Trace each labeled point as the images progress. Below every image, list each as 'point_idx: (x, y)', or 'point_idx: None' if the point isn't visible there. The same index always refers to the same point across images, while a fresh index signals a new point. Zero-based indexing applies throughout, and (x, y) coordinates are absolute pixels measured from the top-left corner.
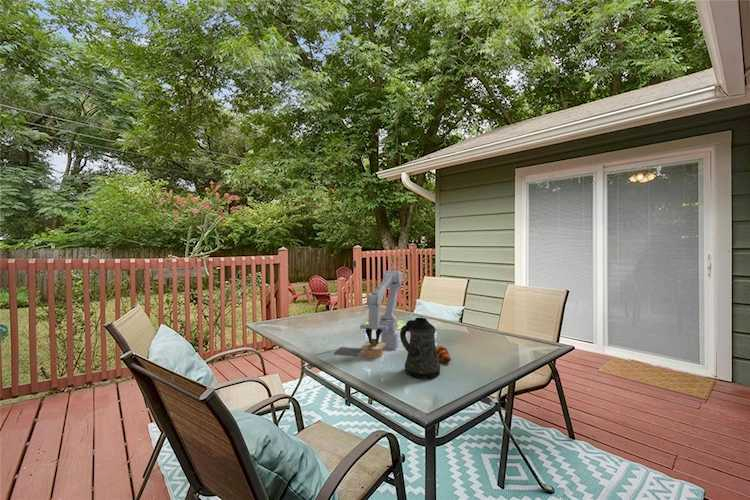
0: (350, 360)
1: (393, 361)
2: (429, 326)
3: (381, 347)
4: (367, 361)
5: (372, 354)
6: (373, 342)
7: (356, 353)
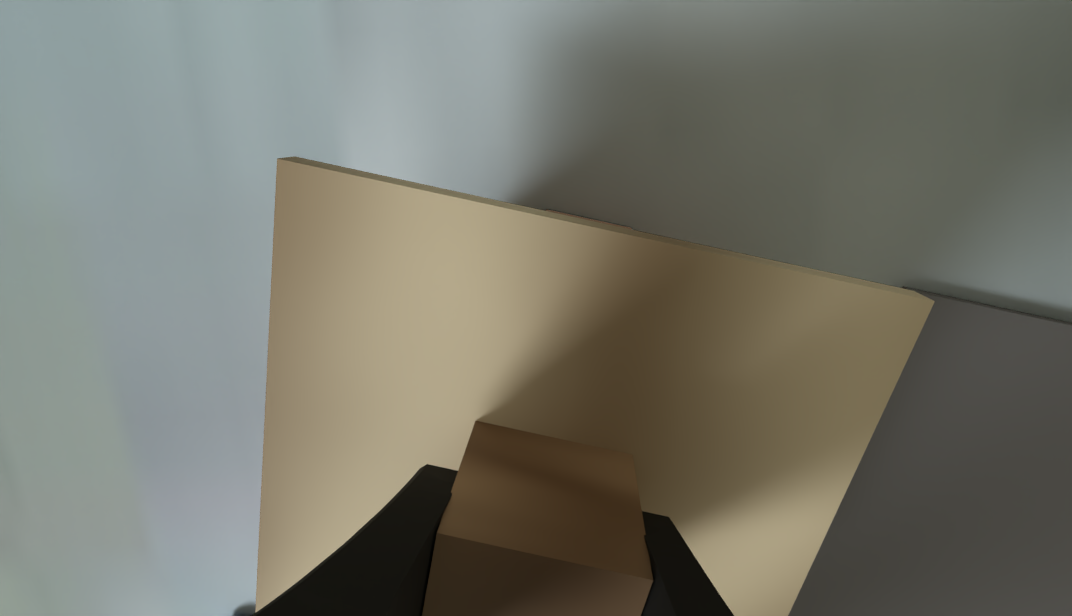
0: (1042, 88)
1: (158, 97)
2: None
3: (310, 326)
4: (668, 53)
5: None
6: (539, 500)
7: (880, 449)
